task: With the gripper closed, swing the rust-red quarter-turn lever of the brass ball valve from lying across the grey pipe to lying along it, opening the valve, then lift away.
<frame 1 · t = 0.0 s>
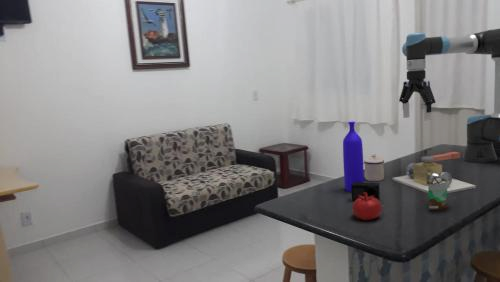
hand: (416, 118, 174), 28 cm above the breakfast bar, tool pointing down, fingers open, 13 cm apart
food container: (440, 207, 144), on the breakfast bar
teacup with lid: (371, 178, 187), on the breakfast bar
valve body: (427, 184, 171), resting on mounting board
digital camera: (365, 201, 157), on the breakfast bar
pomegranate: (367, 217, 141), on the breakfast bar
mounting board: (431, 183, 171), on the breakfast bar
bottle: (354, 190, 172), on the breakfast bar
lever: (440, 157, 171), point 11 cm above the breakfast bar, hinge at 0.0°
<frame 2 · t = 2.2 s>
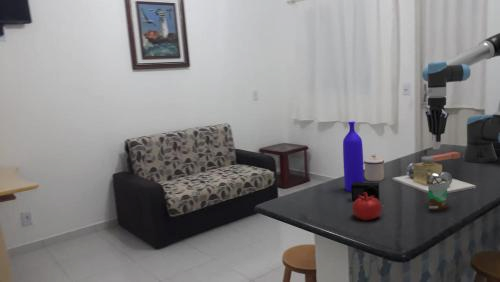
hand: (436, 148, 179), 13 cm above the breakfast bar, tool pointing down, fingers closed
nothing on the breakfast bar moved.
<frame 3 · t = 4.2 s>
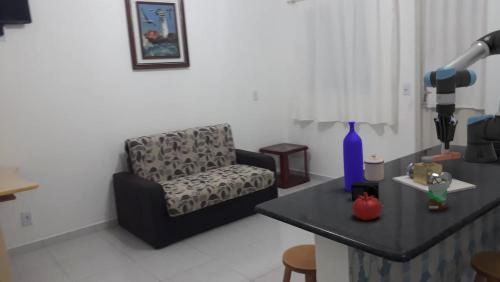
hand: (445, 156, 174), 11 cm above the breakfast bar, tool pointing down, fingers closed
lever: (440, 157, 171), point 11 cm above the breakfast bar, hinge at -1.0°, touching gripper
everything else where it was.
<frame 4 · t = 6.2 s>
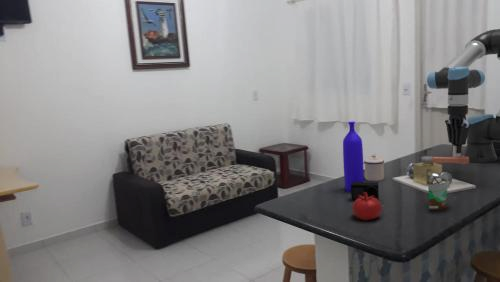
hand: (456, 160, 167), 10 cm above the breakfast bar, tool pointing down, fingers closed
lever: (444, 159, 166), point 11 cm above the breakfast bar, hinge at -41.8°, touching gripper
everything else where it was.
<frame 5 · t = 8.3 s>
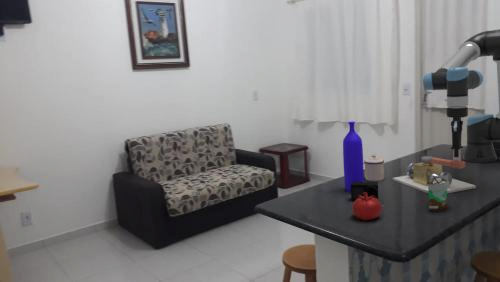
hand: (456, 164, 161), 10 cm above the breakfast bar, tool pointing down, fingers closed
lever: (441, 161, 163), point 11 cm above the breakfast bar, hinge at -75.8°, touching gripper
everything else where it was.
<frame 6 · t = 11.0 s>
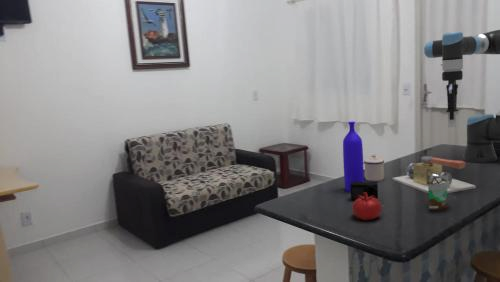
hand: (452, 126, 167), 24 cm above the breakfast bar, tool pointing down, fingers closed
lever: (441, 161, 163), point 11 cm above the breakfast bar, hinge at -75.9°
at the end: lever at -76° (first picture: +0°) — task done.
